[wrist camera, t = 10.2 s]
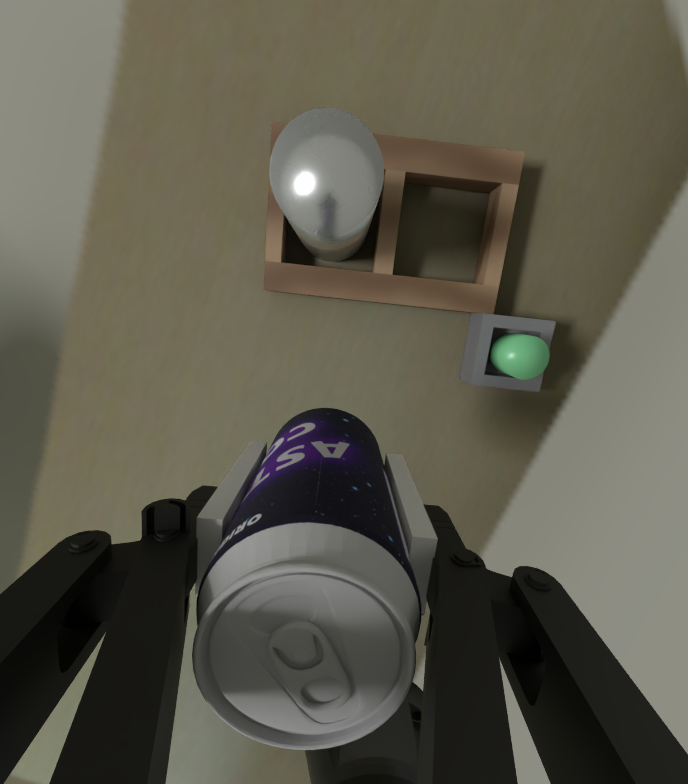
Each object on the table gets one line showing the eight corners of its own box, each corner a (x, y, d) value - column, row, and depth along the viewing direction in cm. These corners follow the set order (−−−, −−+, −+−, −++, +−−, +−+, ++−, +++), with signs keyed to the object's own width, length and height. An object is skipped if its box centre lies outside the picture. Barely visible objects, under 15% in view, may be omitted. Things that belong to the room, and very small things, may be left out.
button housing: (522, 384, 34) (539, 392, 31) (459, 378, 34) (470, 385, 31) (537, 319, 33) (556, 321, 30) (471, 312, 32) (483, 313, 30)
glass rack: (482, 313, 32) (493, 314, 30) (269, 291, 32) (263, 290, 30) (510, 164, 30) (525, 152, 27) (278, 136, 29) (272, 121, 27)
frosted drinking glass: (363, 265, 31) (376, 240, 20) (294, 257, 31) (266, 228, 20) (372, 189, 30) (391, 115, 18) (300, 180, 30) (272, 100, 18)
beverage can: (353, 386, 19) (375, 509, 7) (394, 479, 20) (470, 717, 8) (255, 428, 19) (123, 609, 8) (300, 516, 20) (246, 792, 9)
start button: (525, 374, 31) (543, 381, 28) (486, 370, 31) (500, 377, 28) (533, 335, 30) (554, 338, 27) (494, 330, 30) (510, 333, 27)
